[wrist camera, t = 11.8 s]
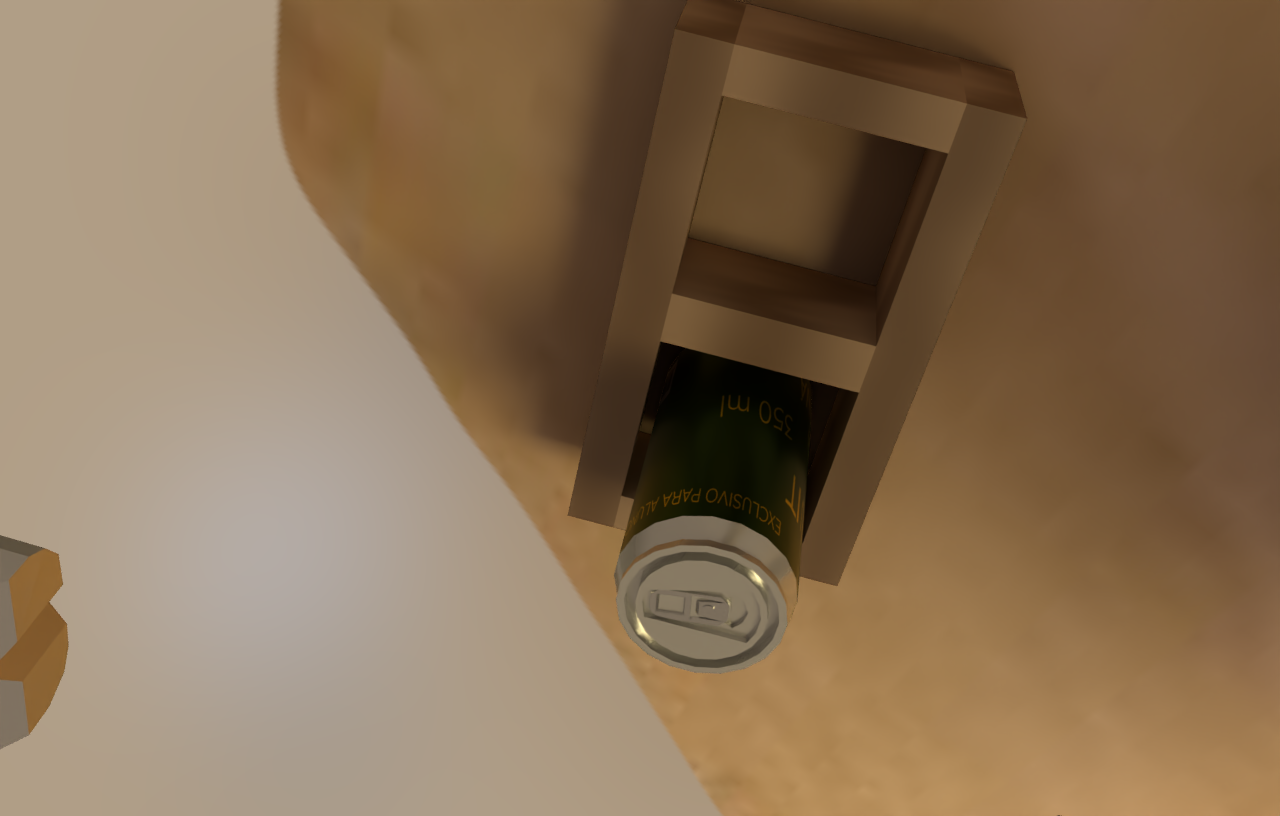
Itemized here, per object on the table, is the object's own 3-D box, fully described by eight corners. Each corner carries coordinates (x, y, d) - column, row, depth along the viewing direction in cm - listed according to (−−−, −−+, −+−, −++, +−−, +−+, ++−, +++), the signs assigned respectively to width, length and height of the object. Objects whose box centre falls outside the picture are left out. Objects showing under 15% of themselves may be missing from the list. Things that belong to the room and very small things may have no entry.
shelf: (1013, 71, 37) (1027, 118, 34) (840, 516, 47) (837, 586, 44) (692, -11, 37) (674, 28, 34) (589, 451, 47) (567, 515, 44)
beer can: (662, 436, 47) (605, 664, 37) (670, 312, 44) (610, 525, 34) (804, 454, 46) (784, 691, 36) (823, 331, 43) (807, 553, 33)
